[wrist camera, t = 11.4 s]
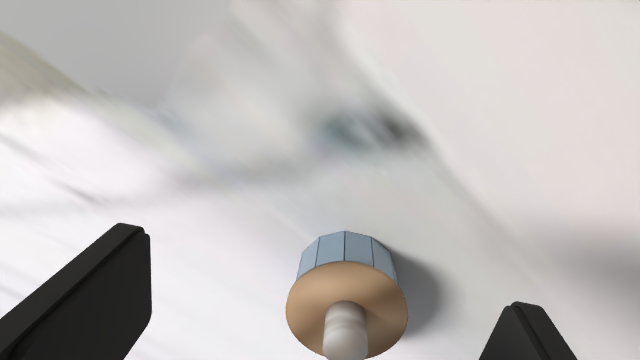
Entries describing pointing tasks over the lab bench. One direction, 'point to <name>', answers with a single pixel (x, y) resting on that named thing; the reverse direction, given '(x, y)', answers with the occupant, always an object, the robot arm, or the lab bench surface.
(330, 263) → the lid
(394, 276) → the bowl
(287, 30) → the lab bench surface
